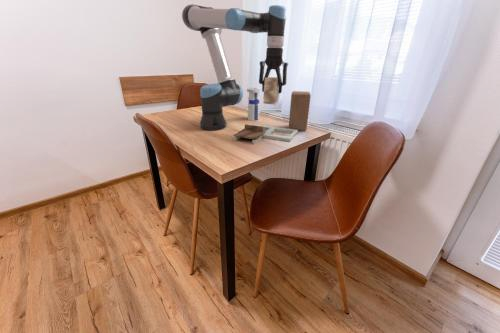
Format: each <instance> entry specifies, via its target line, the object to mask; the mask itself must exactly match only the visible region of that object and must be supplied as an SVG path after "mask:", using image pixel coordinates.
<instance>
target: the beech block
mask: <svg viewBox="0 0 500 333" xmlns="http://www.w3.org/2000/svg"><path fill="white" fill-rule="evenodd" d="M277 86H279V84H278V78H277V76H276V77H275V76H274V77H273V76H268V77H267V78H265V85H264V92H263V96H264V99H263V104H265V105H266V104H267V105H276V104H278V103H279V100H276V96H277Z"/></svg>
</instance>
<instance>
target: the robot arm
mask: <svg viewBox="0 0 500 333" xmlns="http://www.w3.org/2000/svg"><path fill="white" fill-rule="evenodd" d="M181 19H182V22H183V23H184V25H185V26H186V28H188V29H190V30H192V31H196V32H200V35H201V37H202V39H204V40H205V41H206V45H207V48H208V52H209V56H210V59H211V61H212V64H213V69H214V72H215V75H216V76H215V77H216V79H217V83H210V84H209V83H208V84H204V85H202V86H201V87H200V89H199V90H200V92H199V93H200V105H201V112H202V113H201V114H202V115H201V118H200V123H199V125H200V129H202V130H205V131H219V130H223V129H225V128H226V127H227V122H226V118H225V115H224V113H223V111H224V110H223V108H224V107H229V106H235V105H237V104H239V103H241V101H242V99H243V97H244V92H243V91H244V90H243V88H242V86H241V85H240V84H238V83H237V82H236V79H235V78H233V76H232V73H231V70H230V67H229V66H230V65H229V61H228V59H227V56H226V51H225V47H224V46H223V45H224V44H223V41H222V37H221V35H222V30H231V31H239V32H241V31H242V32H248V33H252V34H259V33H260V34H262V33H267V34H266V35H267V36H266V37H267V38H266V46H267V47H266V56H265V60H263V61H259V67H260V68H259V75H258V76H259V77H258V84H260V83H261V86H262V87H261V91H262V92H263V93H264V85H265V78H267V77H270V76H269V75H270V74H271V71H272V70H274V72H275V74H276V77H277V78H278V84H279V86H277V96H276V100H278V101H280V94H281V93H282V91H283V86H286V85H287V74H288V73H287V69H288V66H289V62H285V61H283V60H284V59H283V51H284V49H283V47H284V42H285V41H284V40H285V27H286V20H287V9H286V7H285V6H284V5H280V4H279V5H278V4H273V5H270V6H269V7H268V11H267V12H256V11H255V12H254V11H250V10H244V9H240V8H236V7H231V8H213V7H210V6H202V5H198V4H193V3H192V4H187V5H186V6H185V7H183V9H182V13H181ZM265 66H267V68H266V71H265ZM281 66H282V75H281V68H280V67H281ZM262 96H263V100H264V95H262Z"/></svg>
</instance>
